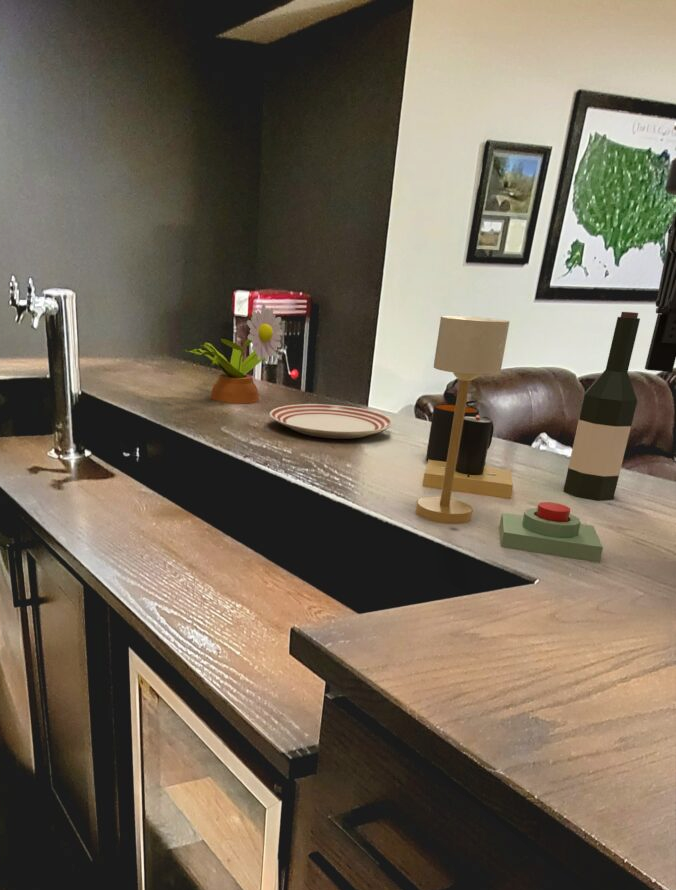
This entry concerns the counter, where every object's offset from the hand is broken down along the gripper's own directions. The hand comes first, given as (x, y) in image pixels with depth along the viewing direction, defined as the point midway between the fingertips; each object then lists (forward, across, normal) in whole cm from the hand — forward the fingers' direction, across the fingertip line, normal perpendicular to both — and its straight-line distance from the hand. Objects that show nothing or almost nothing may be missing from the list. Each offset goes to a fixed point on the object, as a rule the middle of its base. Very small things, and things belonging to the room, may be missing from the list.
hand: (658, 370), depth 87 cm
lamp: (+24, -7, -22) cm, 34 cm away
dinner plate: (+25, -58, -49) cm, 80 cm away
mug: (+25, -43, -21) cm, 54 cm away
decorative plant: (+25, -84, -80) cm, 119 cm away
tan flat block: (+24, -26, -19) cm, 40 cm away
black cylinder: (+22, -26, -19) cm, 39 cm away
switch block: (+24, -1, -8) cm, 26 cm away
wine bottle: (+25, -32, +1) cm, 40 cm away
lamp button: (+21, -1, -8) cm, 22 cm away
